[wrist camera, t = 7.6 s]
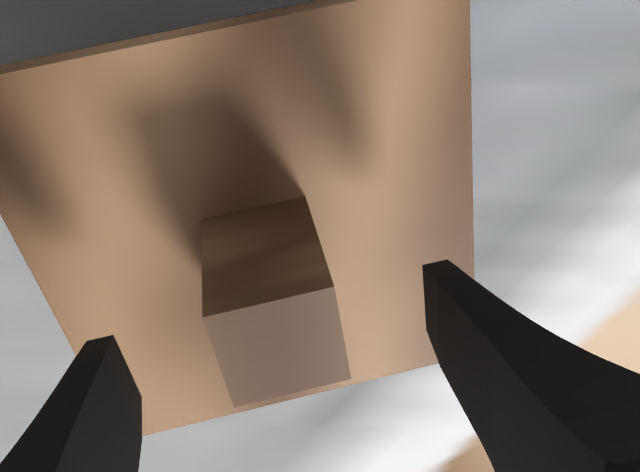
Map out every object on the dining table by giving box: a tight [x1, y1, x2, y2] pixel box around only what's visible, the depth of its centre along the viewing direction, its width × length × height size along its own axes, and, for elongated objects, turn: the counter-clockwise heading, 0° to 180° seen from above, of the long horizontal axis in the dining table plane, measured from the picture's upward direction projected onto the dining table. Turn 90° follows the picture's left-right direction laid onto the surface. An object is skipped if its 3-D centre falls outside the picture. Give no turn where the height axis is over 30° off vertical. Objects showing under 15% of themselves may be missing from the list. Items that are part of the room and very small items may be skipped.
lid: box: [0, 0, 474, 436], centre depth 15 cm, size 12×12×5 cm
